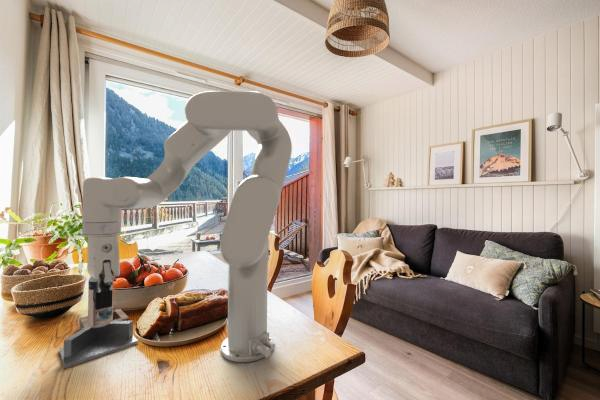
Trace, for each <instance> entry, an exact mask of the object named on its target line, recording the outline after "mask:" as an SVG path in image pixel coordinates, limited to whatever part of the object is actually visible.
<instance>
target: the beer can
mask: <svg viewBox="0 0 600 400" xmlns="http://www.w3.org/2000/svg"><path fill="white" fill-rule="evenodd" d="M100 278H104V275H102V276H100ZM100 282H101V283H102V282H104V280H103V281H100ZM87 287H88V291H87V292H88V293H87V294H88V296H87V297H88V298H87V300H88V303H87V316H88V326H90V327H93V328H98V327H103V326H106V325H108V324H109V323H110V322H112V320H113V310H114V275H112V306H111V307H108V308H103V309H99V310H96V309H95V292H97V280H96V279H94V278H93V277H92V276H91V275H90V277H89V278H88V286H87Z"/></svg>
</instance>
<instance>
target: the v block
mask: <svg viewBox="0 0 600 400" xmlns="http://www.w3.org/2000/svg"><path fill="white" fill-rule="evenodd" d="M133 322H134V320H129V321H112V322H110V323H109V324H108V325H106V326H103V327H98V328H93V327H90V326H86V327H85V328H83V329H81V330H80V329H79V330H78V331H77V332H75V333H73V334H72V335H71V336H69V337H67V338H65V339H64V340H63V347H59V349H58V352H59V356H60V359H61V362H62V365H63V369H64V370H66V369H68V368H69V369H70V368H72V367H74V366H77V365H80V364H83V363H86V362H88V361H92V360H94V359H97V358H100V357H103V356H107V355H108V354H112V353H115V352H118V351H121V350H124V349H126V348H129V347H132V346H135V345H138V344H139V340H138V339H137V337H135V336H134V333H133V332H134V331H133V330H134V323H133Z"/></svg>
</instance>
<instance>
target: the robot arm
mask: <svg viewBox="0 0 600 400" xmlns="http://www.w3.org/2000/svg"><path fill="white" fill-rule="evenodd" d="M184 115H185V119H186V121H185V122H183V124H182V125H180V127H179V128H177V129H176V131H174V132H173V133H172V134H171V135H169V136H168V137H167V138H166V139H165V140H164V142H163V149H164V158H163V160H162V162H161V164H160V165H159V167H157V168H156V169H155V171H154V172H152V173H151V174H150V175H149V176H147V177H146V178H141V177H134V176H132V177H131V176H123V177H114V178H110V177H88V178H86V179H85V180H84V181H83V182H82V183H83V184H82V219H81V220H82V223H81V224H82V229H81V234H82V235H81V236H82V237H83V238H87V251H86V253H87V254H86V256H87V258H86V259H87V260H86V261H87V262H86V263H87V266H86V267H87V272H88V275H90V277H91V276H92V277H93V278H94V279H96V280H97V292H95V309H96V310H99V309H103V308H108V307H111V306H112V276H113V277H119V276H120V274H121V270H120V269H121V267H120V266H121V265H120V245H119V237H118V236H120V235H121V234H122V209H124V210H134V209H135V210H137V209H147V208H148V209H149V208H153V207H156V206H158V205H160V204H162V203H163V202H164V201H165V200H166V199H167V198H168V197H169V196H171V195H173V193H174V192H175V191H177V189H178V188H180V186H181V185H182V184H183V182H184V181H185V180H186V178H187V177H188V175H189V174H190V172H191V171H192V168H193V167H194V166H195V165H196V164H197V163H199V161H200V160H202V159H203V158H204V157H205V156H206V155H208V153H209V152H211V150H213V149H214V148H215V147H216V146H218V144H219V143H221V142H222V141H223V140H224V139H225V138H226V137H227V136H228V135H230V133H231V131H238V132H239V131H243V132H244V131H247V133H248V135H249V136H250V137H251V138H252V139H254V140H255V141H256V142H257V145H258V146H257V147H258V149H257V151H256V154H255V157H254V159H253V164H252V167H251V171H250V173H249V176H248V177H246V178H244V179H243V180H242V181H241V182H240V183H239V184H238V186H237V187H236V190H235V191H234V194H233V197H232V200H231V203H230V207H229V210H228V212H227V216H226V219H225V222H224V226H223V229H222V233H221V236H220V240H219V251H220V254H221V256H222V258H223V260H224V261H225V262H226V263H227V264H228V278H227V279H228V281H227V282H228V283H227V284H228V285H227V286H228V287H227V288H228V289H227V338H225V339H224V340H223V341H222V343H221V346H220V352H221V354H222V356H223V357H224V358H225V359H226V360H228V361H231V362H235V363H250V362H255V361H259V360H261V359H263V358H265V359H267V358H269V357H270V356H271V355H272V351H273V350H274V349H275V348H276V344H275V343H274V340H273V338H272V337H271V335H270V332H269V331H268V283H269V282H268V277H269V275H268V271H269V249H270V247H269V246H270V242H269V241H270V240H269V235H270V233H271V229H272V226H273V222H274V219H275V217H276V212H277V210H278V207H279V205H280V202H281V196H282V195H281V194H282V192H283V191H282V190H283V188H284V183H285V180H286V177H287V173H288V169H289V165H290V161H291V159H292V158H291V157H292V151H293V147H292V146H293V145H292V140H291V137H290V134H289V132H288V130H287V129H286V126H285V125H283V123H282V121H281V120H279V112H278V108H277V105H276V103H275V101H274V100H273V99H272V98H271V97H270V96H269V95H267V94H265V93H264V92H259V91H252V90H249V91H248V90H208V91H202V92H198V93H195V94H194V95H192V96H191V97H190V98H188V100H187V101H186V103H185V106H184ZM102 275H104V278H100V276H102ZM103 280H104V282H102V283H101V282H100V281H103Z"/></svg>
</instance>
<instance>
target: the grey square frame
mask: <svg viewBox="0 0 600 400" xmlns="http://www.w3.org/2000/svg"><path fill="white" fill-rule="evenodd" d="M112 321H130V317H129V316H128V315H127V314H126V313H125V312H124V311H123V310H122V308H120V309H119V308H115V309H113V320H112ZM86 326H88V315H87V316H84V317H79V325H78V327H79V331H80V330H81V329H83V328H85V327H86Z"/></svg>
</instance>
